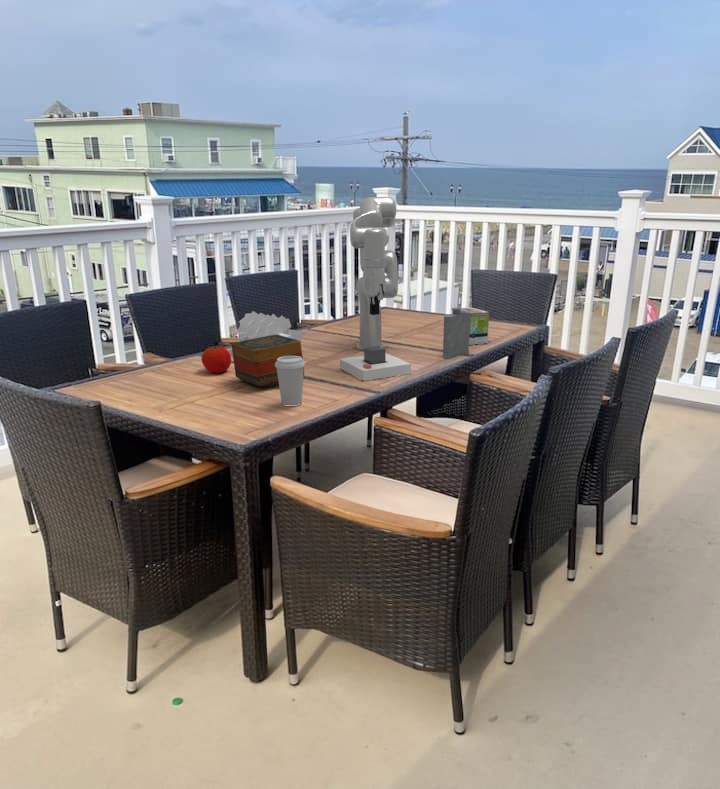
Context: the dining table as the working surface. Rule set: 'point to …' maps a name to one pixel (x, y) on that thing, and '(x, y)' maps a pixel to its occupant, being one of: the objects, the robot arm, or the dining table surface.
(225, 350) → the tomato
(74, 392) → the dining table surface
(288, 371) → the coffee cup
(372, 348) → the plug
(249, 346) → the decorative box
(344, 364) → the socket
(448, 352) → the hip flask
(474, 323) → the tea box
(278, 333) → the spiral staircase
